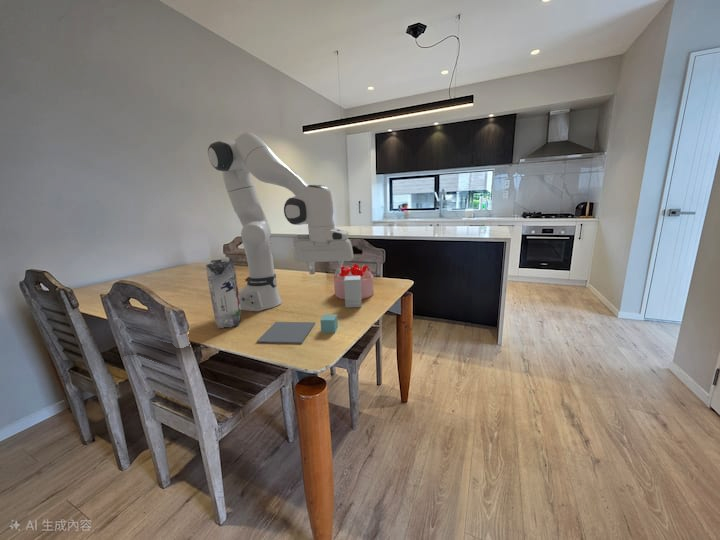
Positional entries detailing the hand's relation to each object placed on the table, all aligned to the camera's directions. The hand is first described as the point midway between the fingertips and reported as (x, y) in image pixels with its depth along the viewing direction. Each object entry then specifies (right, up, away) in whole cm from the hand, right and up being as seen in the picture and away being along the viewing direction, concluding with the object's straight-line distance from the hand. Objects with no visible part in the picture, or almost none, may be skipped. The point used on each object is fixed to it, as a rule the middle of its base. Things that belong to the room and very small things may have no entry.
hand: (325, 273), depth 100 cm
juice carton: (-40, -20, +15) cm, 47 cm away
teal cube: (+1, -21, +5) cm, 21 cm away
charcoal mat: (-14, -22, +4) cm, 26 cm away
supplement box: (+9, -15, +29) cm, 34 cm away
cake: (+9, -11, +44) cm, 46 cm away
